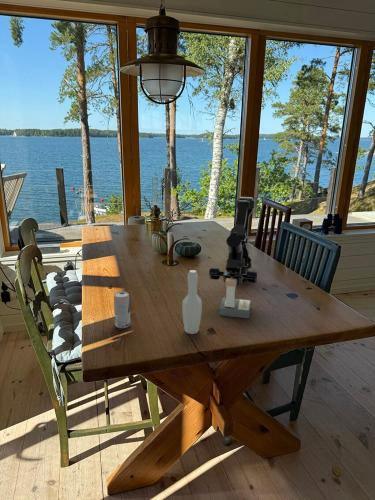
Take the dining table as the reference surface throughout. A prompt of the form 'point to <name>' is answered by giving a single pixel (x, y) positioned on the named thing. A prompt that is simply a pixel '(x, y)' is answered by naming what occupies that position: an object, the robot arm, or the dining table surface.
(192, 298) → the faceted bottle
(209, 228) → the dining table surface
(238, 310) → the switch unit
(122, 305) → the energy drink
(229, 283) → the slider knob
